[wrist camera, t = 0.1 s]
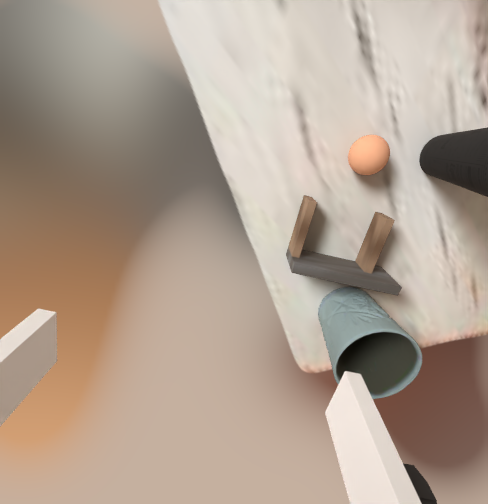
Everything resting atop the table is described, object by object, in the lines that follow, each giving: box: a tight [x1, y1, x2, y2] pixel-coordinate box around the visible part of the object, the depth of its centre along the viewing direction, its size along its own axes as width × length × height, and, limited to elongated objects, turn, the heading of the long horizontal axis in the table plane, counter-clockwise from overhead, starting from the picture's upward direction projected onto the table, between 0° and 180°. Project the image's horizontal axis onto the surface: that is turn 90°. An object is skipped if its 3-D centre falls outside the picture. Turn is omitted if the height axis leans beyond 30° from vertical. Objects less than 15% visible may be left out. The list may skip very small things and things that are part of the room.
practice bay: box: [286, 195, 402, 295], centre depth 37 cm, size 9×14×6 cm, turn 77°
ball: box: [348, 135, 390, 175], centre depth 34 cm, size 4×4×4 cm
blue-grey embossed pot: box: [318, 287, 422, 399], centre depth 39 cm, size 10×10×12 cm
